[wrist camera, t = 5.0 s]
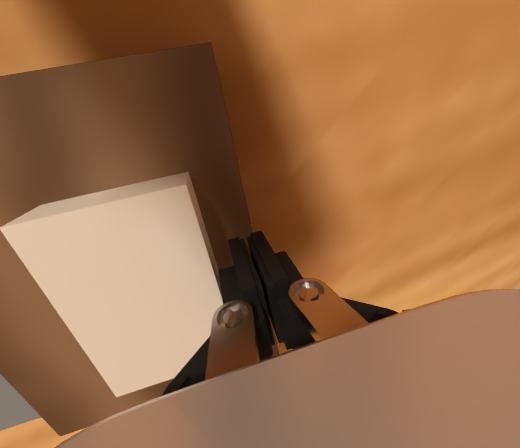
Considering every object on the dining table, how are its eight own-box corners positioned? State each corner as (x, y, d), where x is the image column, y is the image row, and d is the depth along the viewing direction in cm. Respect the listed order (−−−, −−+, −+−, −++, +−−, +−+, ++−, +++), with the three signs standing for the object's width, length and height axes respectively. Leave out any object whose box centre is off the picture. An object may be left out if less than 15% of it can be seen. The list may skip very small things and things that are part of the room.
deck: (208, 59, 12) (211, 42, 9) (269, 327, 20) (280, 360, 17) (-131, 116, 10) (-247, 115, 8) (80, 388, 18) (60, 436, 15)
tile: (188, 171, 11) (185, 184, 9) (233, 321, 15) (240, 356, 13) (41, 204, 10) (-1, 228, 8) (129, 354, 14) (116, 397, 12)
